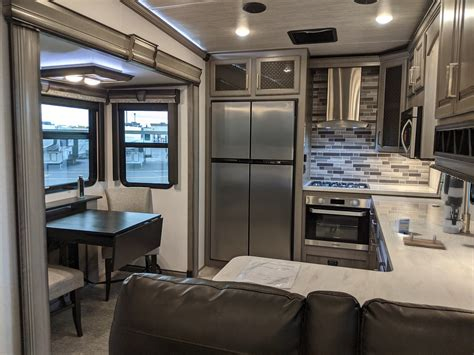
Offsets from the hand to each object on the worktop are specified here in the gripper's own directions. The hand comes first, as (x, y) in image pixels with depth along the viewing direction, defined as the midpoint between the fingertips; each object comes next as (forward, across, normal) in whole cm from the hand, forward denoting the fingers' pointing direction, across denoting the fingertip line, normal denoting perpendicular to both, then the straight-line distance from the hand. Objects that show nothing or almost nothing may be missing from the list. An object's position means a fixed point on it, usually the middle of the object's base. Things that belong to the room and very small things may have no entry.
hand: (452, 223), depth 218 cm
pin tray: (+11, +11, -16) cm, 23 cm away
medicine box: (+11, -13, -26) cm, 31 cm away
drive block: (+2, 0, 0) cm, 2 cm away
